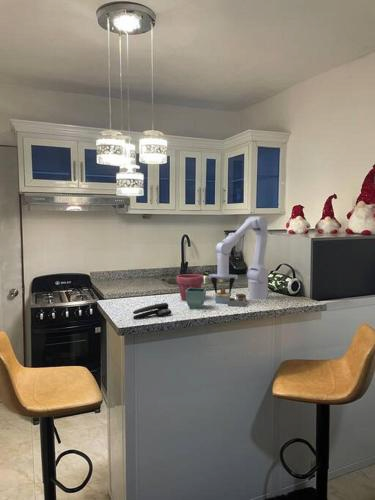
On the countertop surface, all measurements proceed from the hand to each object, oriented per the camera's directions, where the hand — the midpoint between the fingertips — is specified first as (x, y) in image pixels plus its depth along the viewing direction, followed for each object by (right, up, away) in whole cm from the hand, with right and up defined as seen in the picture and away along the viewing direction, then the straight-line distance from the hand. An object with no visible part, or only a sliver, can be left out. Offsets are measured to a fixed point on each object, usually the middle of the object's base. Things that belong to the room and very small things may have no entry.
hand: (223, 292), depth 199 cm
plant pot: (-17, -5, +9) cm, 20 cm away
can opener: (-34, -8, -26) cm, 43 cm away
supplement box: (+23, -3, +30) cm, 38 cm away
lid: (0, -1, 0) cm, 1 cm away
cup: (0, -5, 0) cm, 5 cm away
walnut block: (+10, -5, +3) cm, 11 cm away
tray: (+6, -6, -6) cm, 10 cm away
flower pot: (-14, -7, -10) cm, 19 cm away
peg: (+6, -5, -6) cm, 10 cm away
